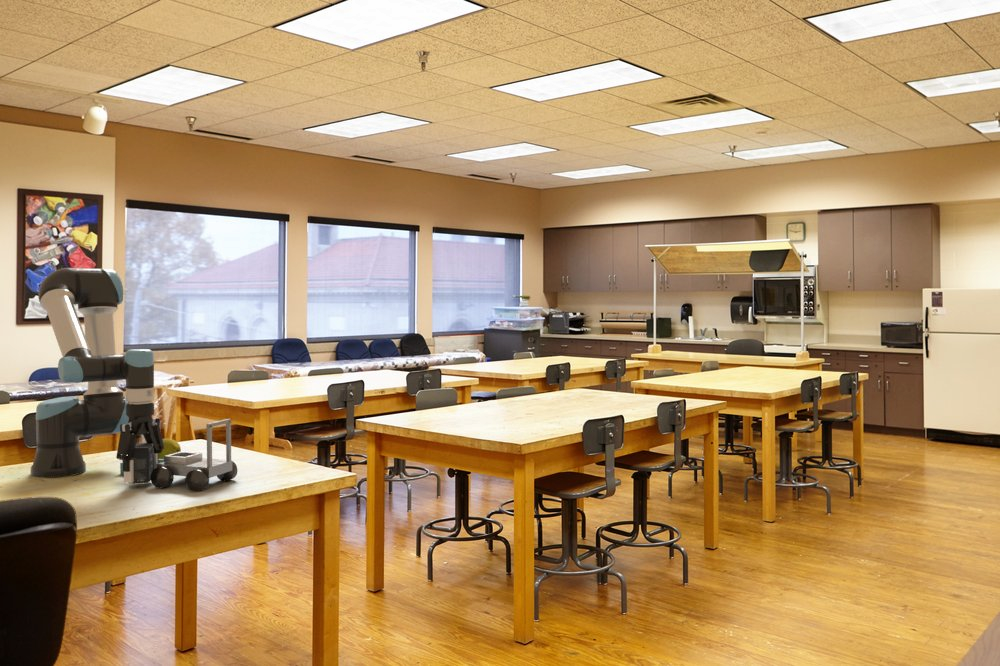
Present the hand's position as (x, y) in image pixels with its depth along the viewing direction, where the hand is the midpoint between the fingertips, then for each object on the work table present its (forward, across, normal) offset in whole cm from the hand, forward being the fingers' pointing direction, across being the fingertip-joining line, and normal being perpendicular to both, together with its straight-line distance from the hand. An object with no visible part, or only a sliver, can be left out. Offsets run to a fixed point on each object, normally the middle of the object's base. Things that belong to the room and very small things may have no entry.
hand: (141, 478), depth 236 cm
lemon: (+2, +30, +15) cm, 34 cm away
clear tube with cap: (+1, +15, +10) cm, 18 cm away
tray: (+2, +15, +10) cm, 18 cm away
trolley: (+2, +6, -14) cm, 15 cm away
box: (+1, 0, 0) cm, 1 cm away
